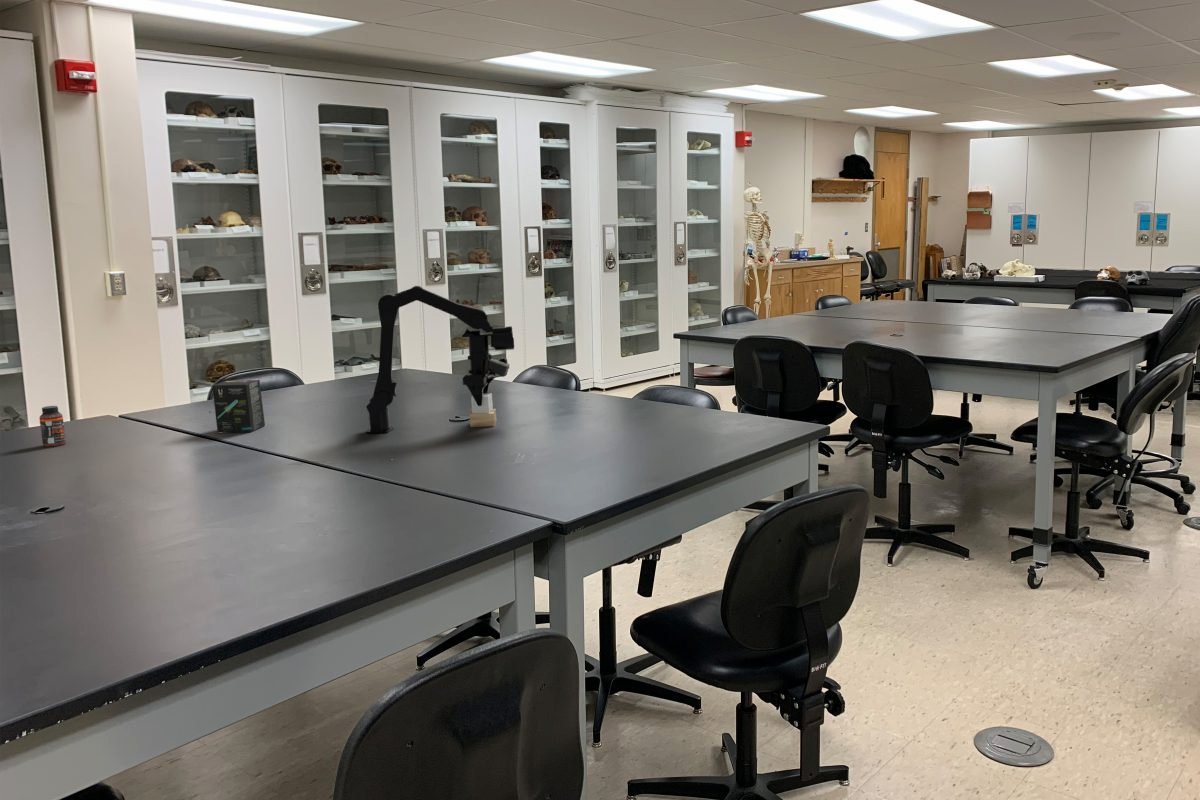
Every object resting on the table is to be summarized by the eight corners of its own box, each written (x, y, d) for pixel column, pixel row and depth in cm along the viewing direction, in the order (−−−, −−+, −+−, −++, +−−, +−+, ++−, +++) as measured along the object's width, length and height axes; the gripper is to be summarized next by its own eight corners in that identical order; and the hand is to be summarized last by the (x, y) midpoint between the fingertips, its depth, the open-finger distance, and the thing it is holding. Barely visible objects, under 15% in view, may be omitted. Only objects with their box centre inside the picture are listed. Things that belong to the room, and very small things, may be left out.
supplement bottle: (56, 447, 277) (50, 408, 275) (38, 447, 278) (32, 408, 276) (71, 442, 283) (65, 404, 281) (53, 442, 284) (48, 404, 282)
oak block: (494, 426, 283) (493, 413, 283) (470, 427, 283) (469, 414, 282) (496, 421, 290) (495, 408, 289) (473, 422, 290) (472, 409, 289)
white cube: (488, 413, 283) (487, 396, 282) (472, 413, 284) (471, 396, 283) (492, 409, 288) (491, 393, 287) (476, 410, 289) (475, 393, 288)
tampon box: (265, 426, 296) (260, 378, 294) (252, 432, 287) (246, 384, 285) (231, 426, 298) (226, 379, 295) (216, 433, 289) (211, 384, 286)
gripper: (499, 355, 273) (502, 409, 275) (512, 346, 291) (515, 397, 294) (460, 356, 274) (464, 410, 277) (476, 347, 292) (479, 398, 295)
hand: (482, 404), depth 286 cm, fingers open, 6 cm apart
